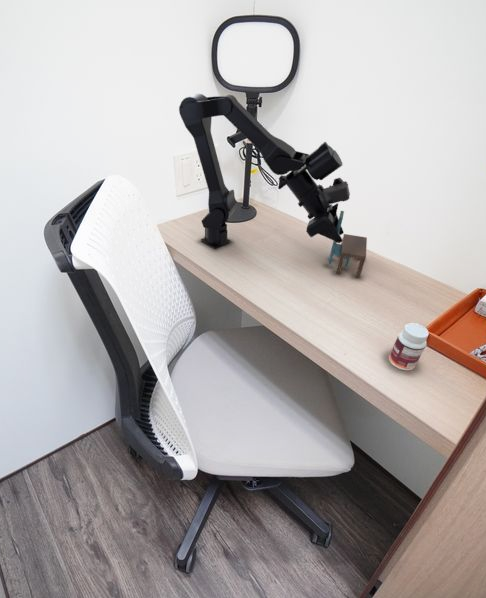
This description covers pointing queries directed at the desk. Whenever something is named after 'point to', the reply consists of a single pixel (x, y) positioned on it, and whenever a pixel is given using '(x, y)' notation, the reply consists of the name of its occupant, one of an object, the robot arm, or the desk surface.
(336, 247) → the chair
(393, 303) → the desk surface
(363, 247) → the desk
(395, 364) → the pill bottle
